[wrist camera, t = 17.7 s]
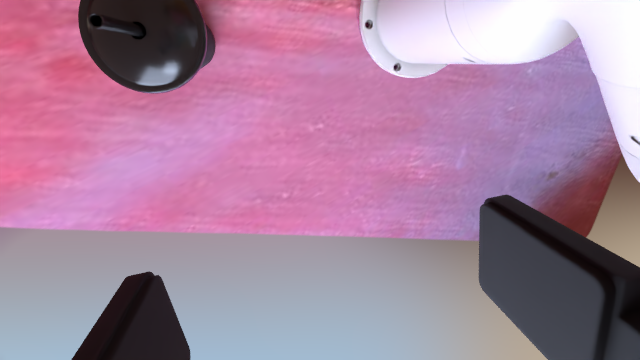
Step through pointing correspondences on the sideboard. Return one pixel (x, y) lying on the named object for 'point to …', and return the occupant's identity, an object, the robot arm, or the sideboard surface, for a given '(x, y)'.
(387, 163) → the sideboard surface
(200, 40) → the drinking cup
